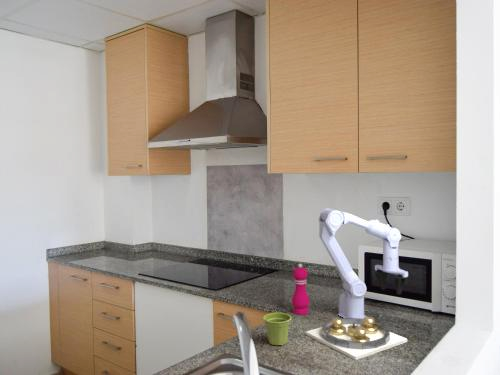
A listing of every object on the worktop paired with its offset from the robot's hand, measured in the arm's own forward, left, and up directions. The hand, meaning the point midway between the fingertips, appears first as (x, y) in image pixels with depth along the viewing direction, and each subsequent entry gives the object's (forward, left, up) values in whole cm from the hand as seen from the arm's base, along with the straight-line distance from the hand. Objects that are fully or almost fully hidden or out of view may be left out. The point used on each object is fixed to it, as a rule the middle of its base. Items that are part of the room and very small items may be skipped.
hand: (391, 291), depth 164 cm
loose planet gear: (+8, -21, -8) cm, 24 cm away
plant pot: (-4, -52, -10) cm, 53 cm away
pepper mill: (-23, -27, -10) cm, 37 cm away
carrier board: (+8, -28, -9) cm, 31 cm away
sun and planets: (+8, -30, -8) cm, 32 cm away
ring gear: (+8, -28, -8) cm, 30 cm away
